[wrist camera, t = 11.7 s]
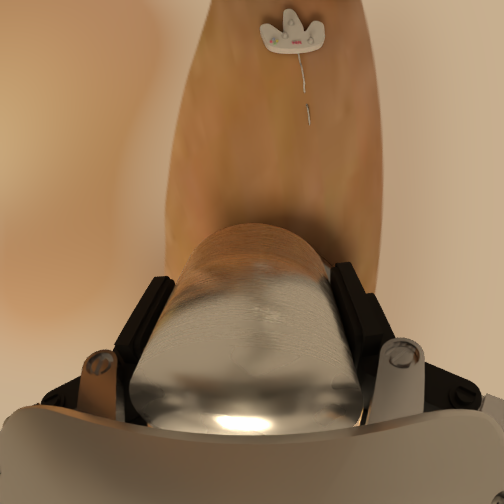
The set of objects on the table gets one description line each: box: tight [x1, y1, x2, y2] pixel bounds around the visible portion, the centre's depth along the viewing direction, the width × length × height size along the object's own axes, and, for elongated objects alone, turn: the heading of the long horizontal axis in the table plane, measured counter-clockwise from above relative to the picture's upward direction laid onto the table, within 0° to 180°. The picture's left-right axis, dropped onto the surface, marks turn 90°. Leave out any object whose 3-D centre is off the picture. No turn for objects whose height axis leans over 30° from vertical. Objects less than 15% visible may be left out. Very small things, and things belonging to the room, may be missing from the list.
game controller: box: [260, 9, 325, 125], centre depth 20 cm, size 6×12×3 cm, turn 27°
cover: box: [129, 223, 363, 435], centre depth 9 cm, size 6×6×6 cm
